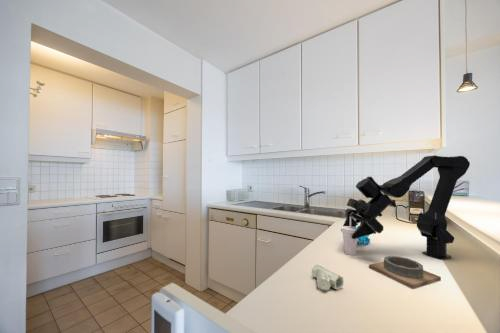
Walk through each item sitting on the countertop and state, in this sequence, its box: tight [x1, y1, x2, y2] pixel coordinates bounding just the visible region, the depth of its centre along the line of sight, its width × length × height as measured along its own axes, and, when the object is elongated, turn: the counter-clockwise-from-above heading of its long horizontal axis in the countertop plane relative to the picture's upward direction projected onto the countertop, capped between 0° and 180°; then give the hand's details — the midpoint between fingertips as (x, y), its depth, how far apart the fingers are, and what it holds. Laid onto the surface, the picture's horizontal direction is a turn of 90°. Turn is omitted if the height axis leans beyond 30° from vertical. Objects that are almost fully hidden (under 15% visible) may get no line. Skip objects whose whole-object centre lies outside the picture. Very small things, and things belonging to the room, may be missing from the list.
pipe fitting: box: [311, 263, 344, 292], centre depth 57 cm, size 8×4×7 cm
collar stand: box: [368, 255, 442, 290], centre depth 64 cm, size 13×13×4 cm
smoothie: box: [340, 217, 359, 256], centre depth 80 cm, size 6×6×14 cm
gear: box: [354, 225, 371, 247], centre depth 93 cm, size 11×6×10 cm
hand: (346, 234), depth 80 cm, fingers open, 9 cm apart
